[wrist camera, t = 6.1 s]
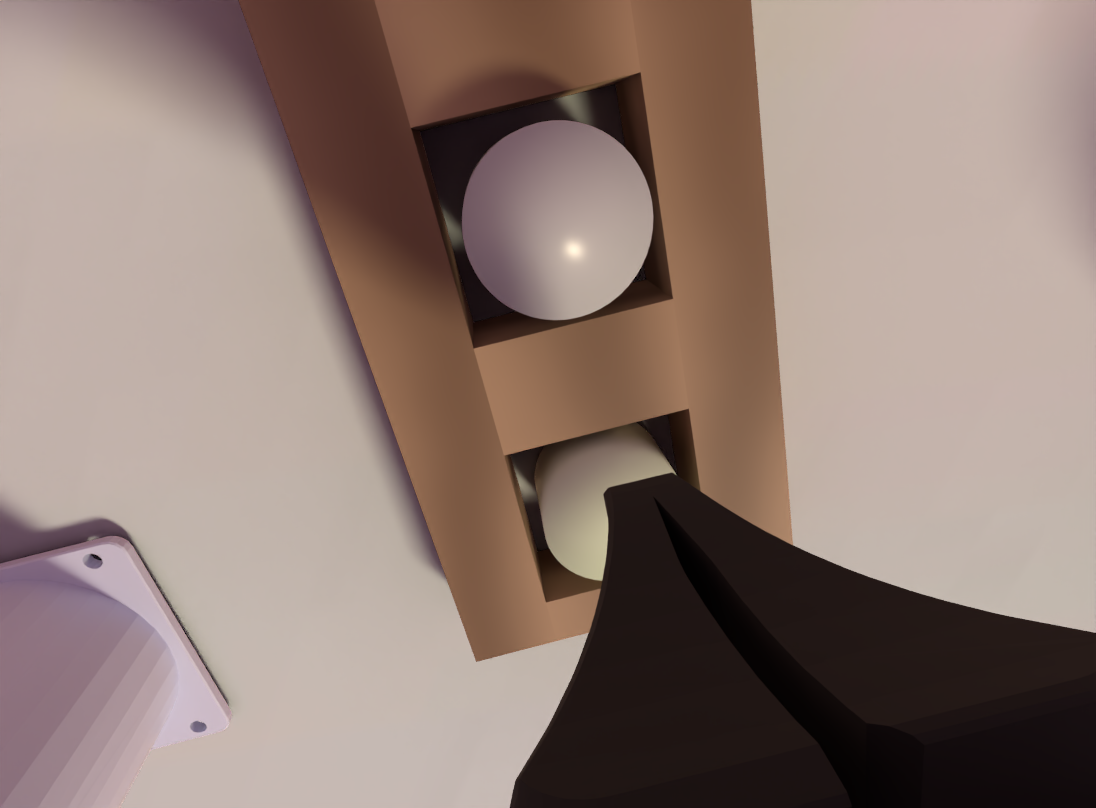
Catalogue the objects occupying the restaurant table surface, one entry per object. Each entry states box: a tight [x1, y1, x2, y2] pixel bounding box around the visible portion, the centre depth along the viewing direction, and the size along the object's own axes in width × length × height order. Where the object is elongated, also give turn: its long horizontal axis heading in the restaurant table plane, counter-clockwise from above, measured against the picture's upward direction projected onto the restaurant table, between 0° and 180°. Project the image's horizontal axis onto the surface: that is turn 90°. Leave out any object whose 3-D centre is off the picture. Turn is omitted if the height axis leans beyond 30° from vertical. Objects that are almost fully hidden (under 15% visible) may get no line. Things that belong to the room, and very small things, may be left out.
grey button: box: [462, 120, 653, 320], centre depth 14 cm, size 4×4×3 cm
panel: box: [238, 0, 793, 662], centre depth 15 cm, size 10×24×2 cm, turn 13°
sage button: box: [535, 422, 676, 581], centre depth 18 cm, size 4×4×3 cm
